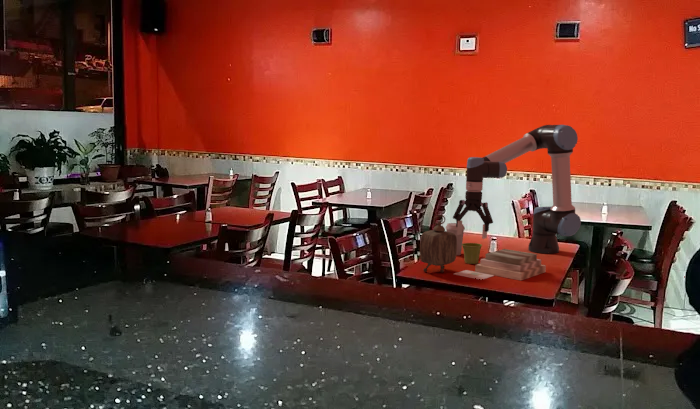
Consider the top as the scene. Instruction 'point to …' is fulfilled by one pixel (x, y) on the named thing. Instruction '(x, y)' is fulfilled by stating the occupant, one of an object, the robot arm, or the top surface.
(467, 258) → the plant pot
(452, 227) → the coffee cup
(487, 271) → the stepped tower
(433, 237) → the tabletop clock
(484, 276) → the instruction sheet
